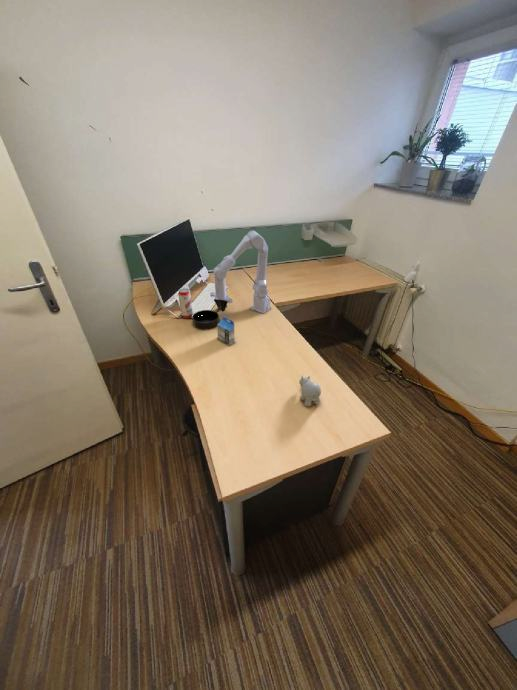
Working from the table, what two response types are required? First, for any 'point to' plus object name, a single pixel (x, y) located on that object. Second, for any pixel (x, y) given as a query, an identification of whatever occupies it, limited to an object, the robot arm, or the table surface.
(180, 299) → the beer can
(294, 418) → the table surface
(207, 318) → the pan
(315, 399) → the chubby cartoon animal
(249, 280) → the table surface
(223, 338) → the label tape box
